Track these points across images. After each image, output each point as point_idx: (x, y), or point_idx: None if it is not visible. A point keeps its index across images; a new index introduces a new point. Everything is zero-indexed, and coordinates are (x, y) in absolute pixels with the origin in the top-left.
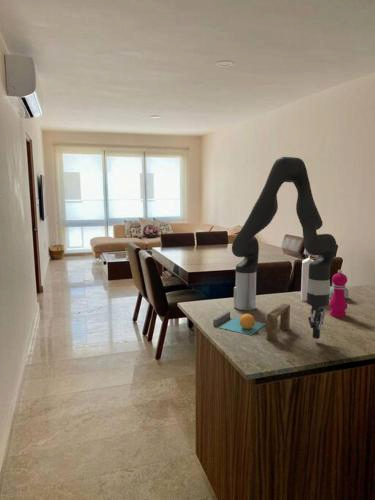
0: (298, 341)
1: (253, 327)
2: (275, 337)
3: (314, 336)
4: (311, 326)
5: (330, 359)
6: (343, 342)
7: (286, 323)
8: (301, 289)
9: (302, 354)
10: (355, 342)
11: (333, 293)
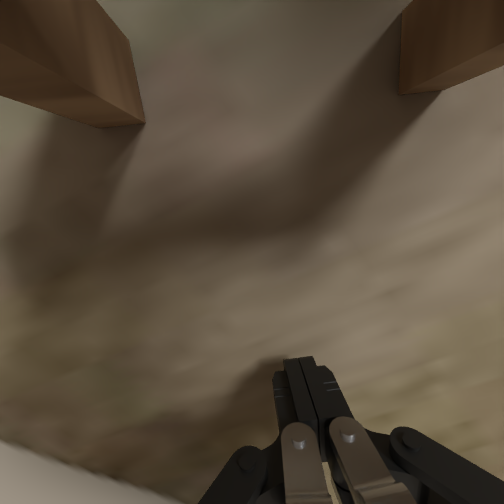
0: (228, 270)
1: None
2: (96, 121)
3: (274, 384)
4: (216, 488)
5: (125, 476)
6: None
7: (443, 57)
8: None
9: (64, 368)
10: None
11: None
